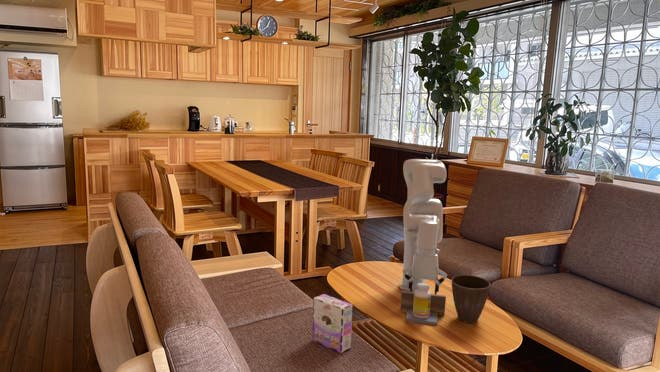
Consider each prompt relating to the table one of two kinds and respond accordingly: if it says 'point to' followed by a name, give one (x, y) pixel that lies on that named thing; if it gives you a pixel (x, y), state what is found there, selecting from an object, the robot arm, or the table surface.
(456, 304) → the plant pot
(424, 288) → the supplement bottle
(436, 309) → the walnut screen
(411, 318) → the slate mat
